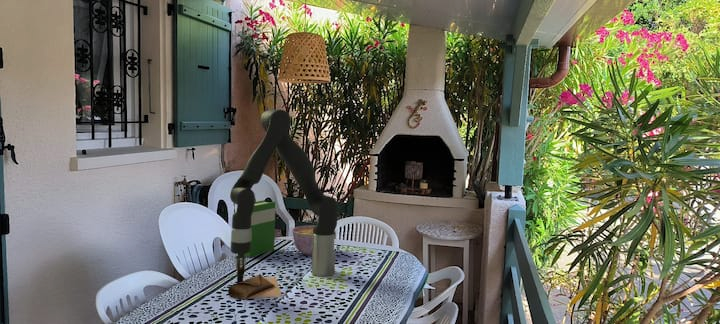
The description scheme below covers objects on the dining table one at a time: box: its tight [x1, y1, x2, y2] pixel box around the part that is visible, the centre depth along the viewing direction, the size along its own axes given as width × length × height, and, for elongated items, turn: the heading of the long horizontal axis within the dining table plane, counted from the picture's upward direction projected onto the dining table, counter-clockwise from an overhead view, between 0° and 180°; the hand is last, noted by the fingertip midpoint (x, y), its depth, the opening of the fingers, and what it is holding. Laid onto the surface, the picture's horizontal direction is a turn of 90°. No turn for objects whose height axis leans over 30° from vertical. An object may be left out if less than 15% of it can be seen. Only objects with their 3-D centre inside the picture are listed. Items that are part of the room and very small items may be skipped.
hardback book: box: [244, 200, 276, 258], centre depth 237 cm, size 18×7×24 cm, turn 150°
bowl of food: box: [291, 225, 315, 256], centre depth 239 cm, size 20×20×12 cm
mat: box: [245, 277, 283, 300], centre depth 188 cm, size 12×22×1 cm, turn 15°
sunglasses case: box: [227, 273, 275, 300], centre depth 184 cm, size 18×7×7 cm
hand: (239, 284), depth 186 cm, fingers closed
